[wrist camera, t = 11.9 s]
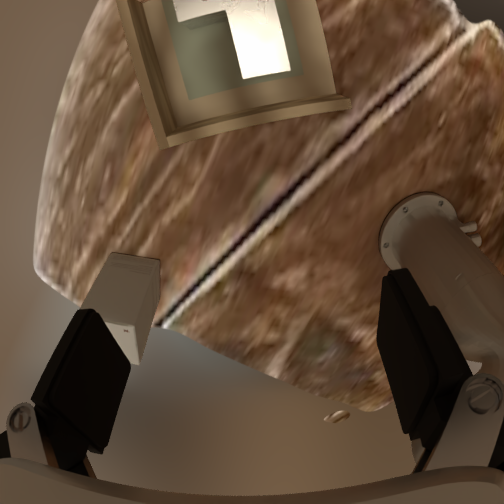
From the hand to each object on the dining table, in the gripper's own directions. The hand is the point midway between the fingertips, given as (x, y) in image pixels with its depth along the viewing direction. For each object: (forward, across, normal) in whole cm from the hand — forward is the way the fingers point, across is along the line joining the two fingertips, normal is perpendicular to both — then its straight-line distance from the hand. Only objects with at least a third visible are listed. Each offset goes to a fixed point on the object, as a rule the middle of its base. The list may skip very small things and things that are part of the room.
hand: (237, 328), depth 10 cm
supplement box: (+28, +20, +15) cm, 37 cm away
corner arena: (+27, 0, -10) cm, 29 cm away
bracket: (+26, 0, -12) cm, 29 cm away
